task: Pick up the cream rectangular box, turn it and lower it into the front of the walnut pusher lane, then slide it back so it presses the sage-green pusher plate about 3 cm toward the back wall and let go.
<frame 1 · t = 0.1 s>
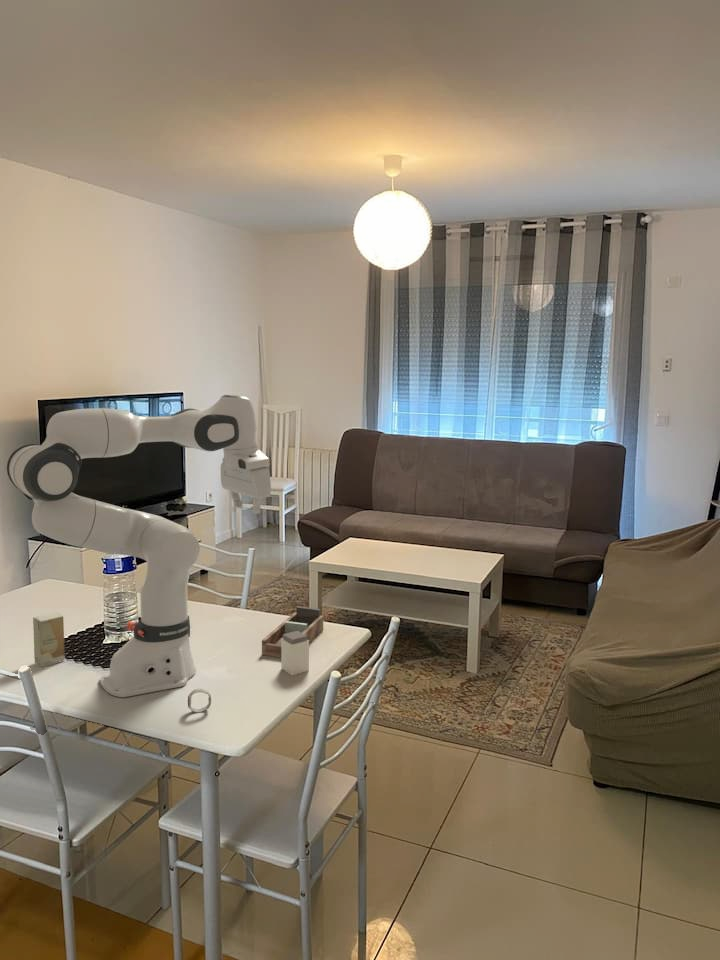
hand: (247, 510, 186), 39 cm above the table, tool pointing down, fingers open, 8 cm apart
pusher plate: (296, 628, 201), point 3 cm above the table, slide at 0.0 cm
cream rectangular box: (295, 669, 181), on the table
pusher lane: (294, 641, 200), on the table
grey ring: (199, 712, 159), on the table
water lily: (166, 621, 214), on the table
skincare box: (50, 662, 184), on the table
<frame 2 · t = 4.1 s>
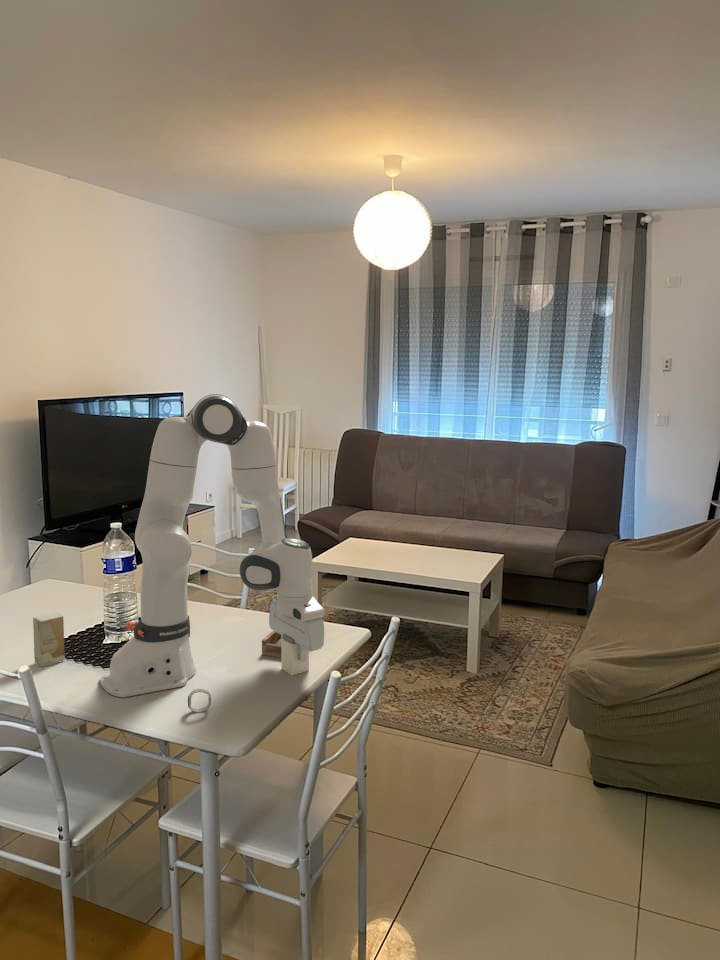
hand: (295, 656, 181), 4 cm above the table, tool pointing down, fingers closed on cream rectangular box, 5 cm apart
cream rectangular box: (295, 669, 181), on the table, touching gripper
everything else where it was.
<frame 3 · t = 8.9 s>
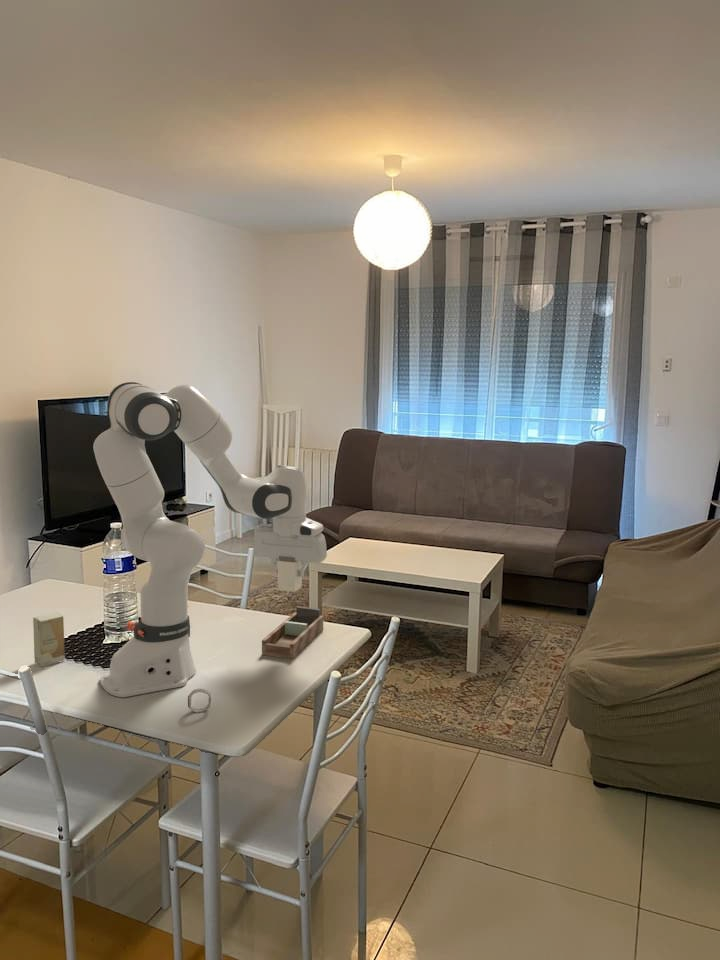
hand: (289, 575, 194), 20 cm above the table, tool pointing down, fingers closed on cream rectangular box, 5 cm apart
cream rectangular box: (289, 587, 195), point 16 cm above the table, touching gripper
everything else where it was.
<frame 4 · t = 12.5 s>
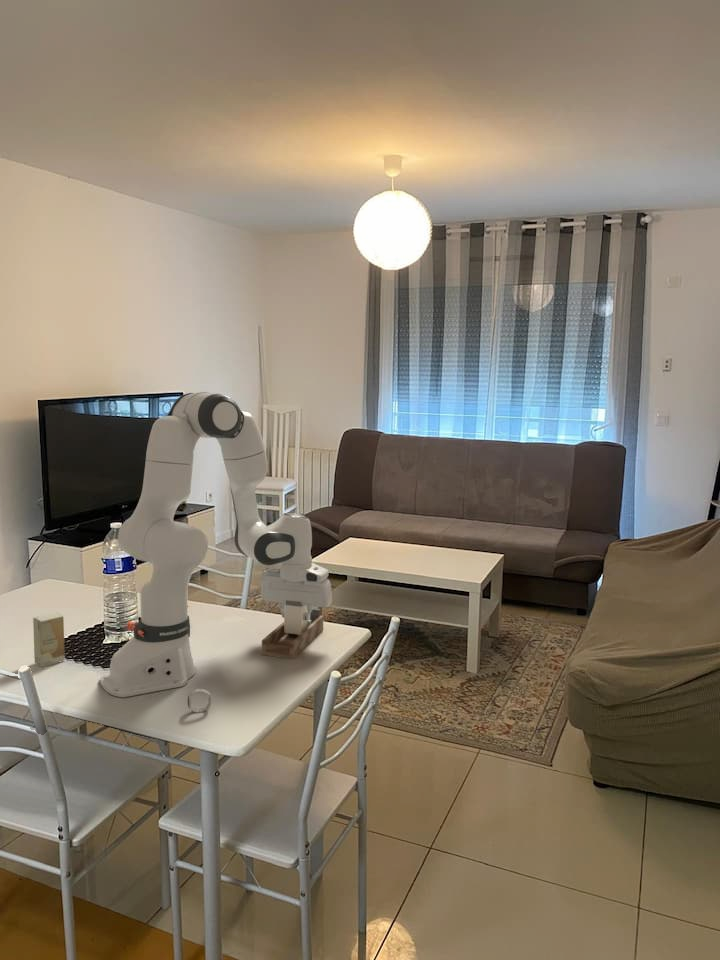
hand: (296, 618, 200), 6 cm above the table, tool pointing down, fingers closed on cream rectangular box, 5 cm apart
pusher plate: (300, 625, 204), point 3 cm above the table, slide at 3.1 cm
cream rectangular box: (296, 630, 201), point 3 cm above the table, touching gripper
when the fingers open (6 cm above the table, at t = 13.5 s): cream rectangular box drops 1 cm, resting on pusher lane.
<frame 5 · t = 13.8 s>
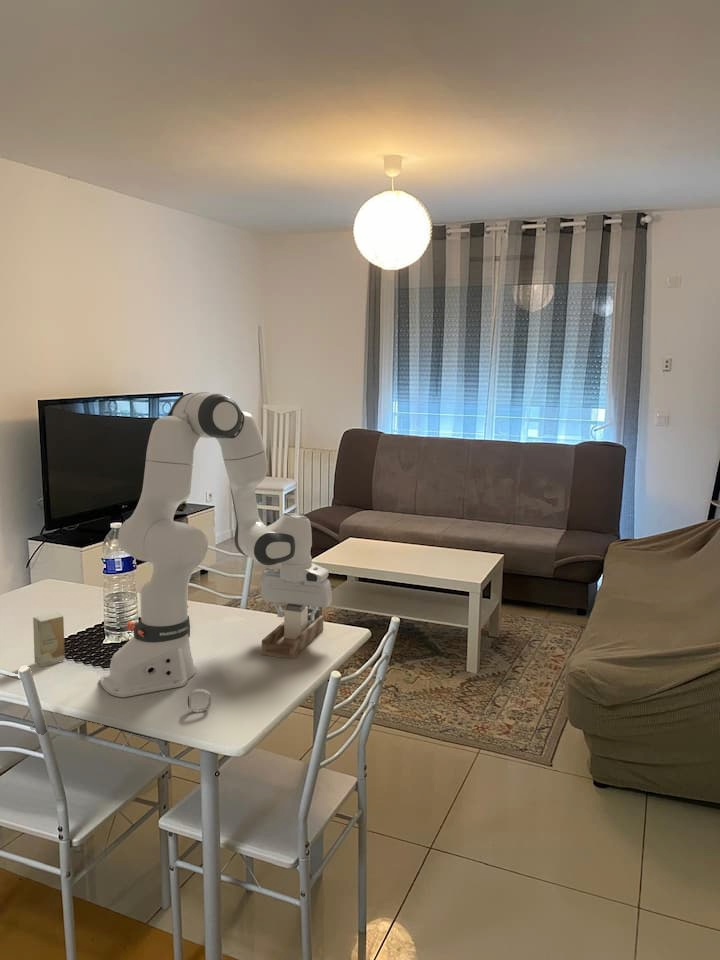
hand: (295, 618, 200), 6 cm above the table, tool pointing down, fingers open, 8 cm apart
cream rectangular box: (296, 635, 201), point 1 cm above the table, touching pusher lane
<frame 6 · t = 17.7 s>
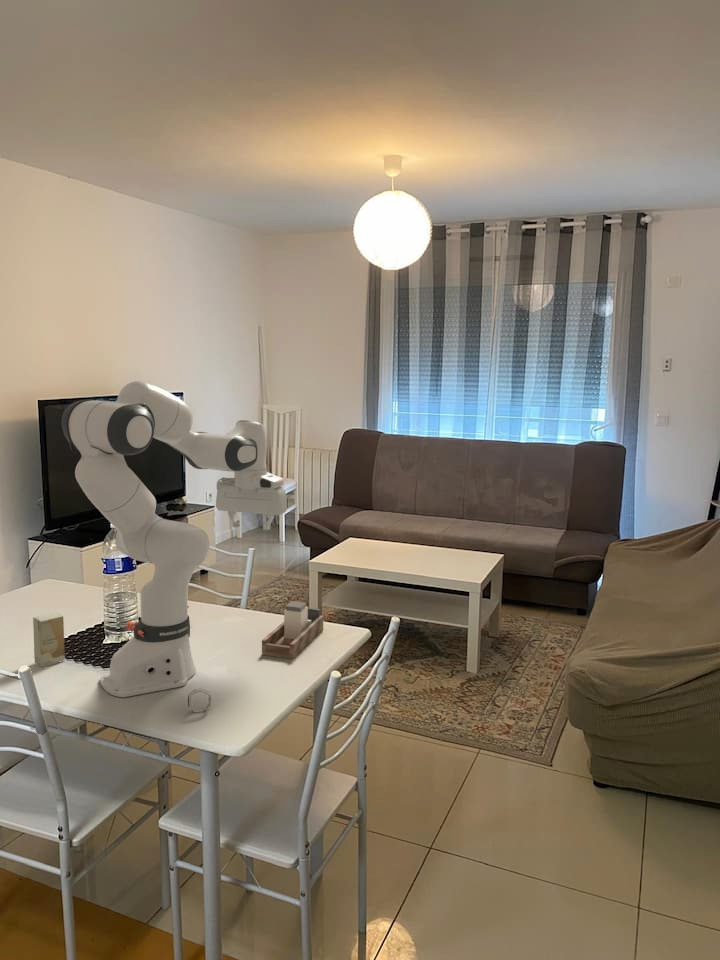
hand: (251, 528, 199), 31 cm above the table, tool pointing down, fingers open, 8 cm apart
at the end: cream rectangular box inside the target area on the pusher lane (0.6 cm from its centre), point 1.0 cm above the pusher lane's base; cream rectangular box tilted 0°; pusher plate slide at 3.1 cm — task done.
